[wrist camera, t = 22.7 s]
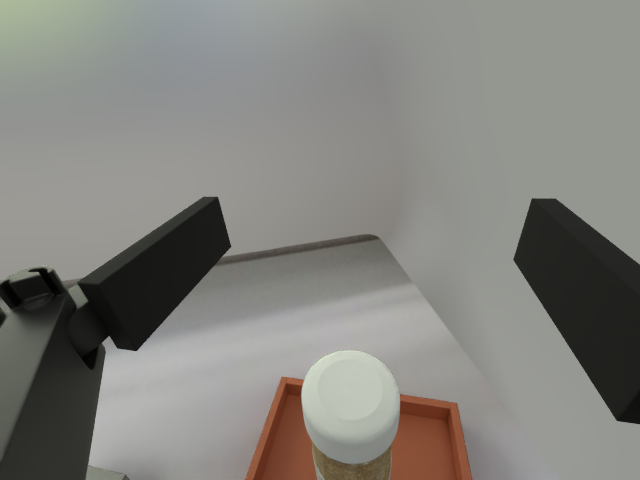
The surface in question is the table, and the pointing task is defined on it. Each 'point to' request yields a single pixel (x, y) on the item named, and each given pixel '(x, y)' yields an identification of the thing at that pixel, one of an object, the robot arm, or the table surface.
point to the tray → (407, 447)
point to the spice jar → (351, 416)
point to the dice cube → (103, 474)
